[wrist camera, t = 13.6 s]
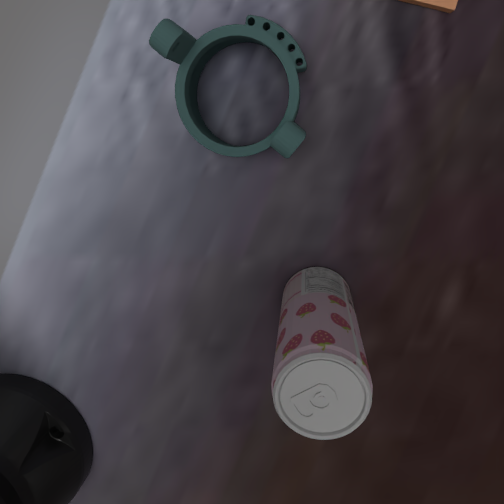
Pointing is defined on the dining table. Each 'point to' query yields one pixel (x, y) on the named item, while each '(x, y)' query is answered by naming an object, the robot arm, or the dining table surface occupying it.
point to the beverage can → (320, 358)
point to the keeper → (435, 4)
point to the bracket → (200, 52)
